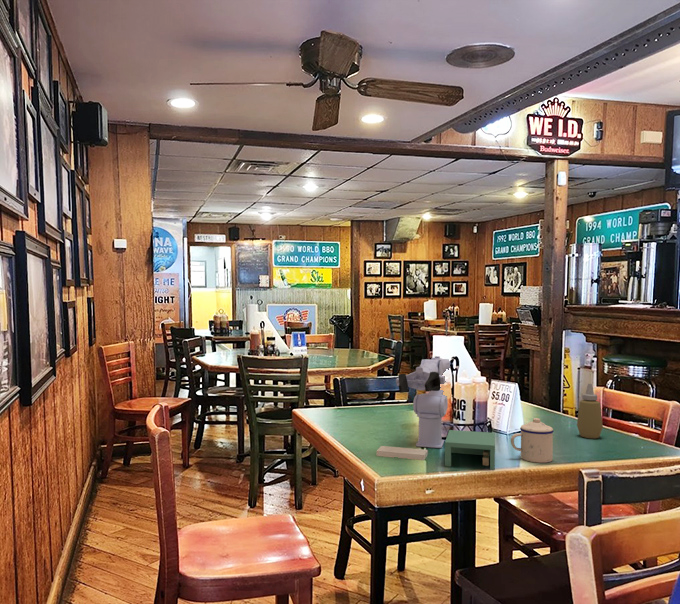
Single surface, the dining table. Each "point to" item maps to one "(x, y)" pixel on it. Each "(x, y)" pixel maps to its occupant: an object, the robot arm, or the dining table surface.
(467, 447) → the shelf
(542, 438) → the teacup with lid
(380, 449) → the beige rectangular block
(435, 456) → the dining table surface
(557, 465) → the dining table surface
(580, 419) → the squeeze bottle
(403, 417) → the dining table surface
